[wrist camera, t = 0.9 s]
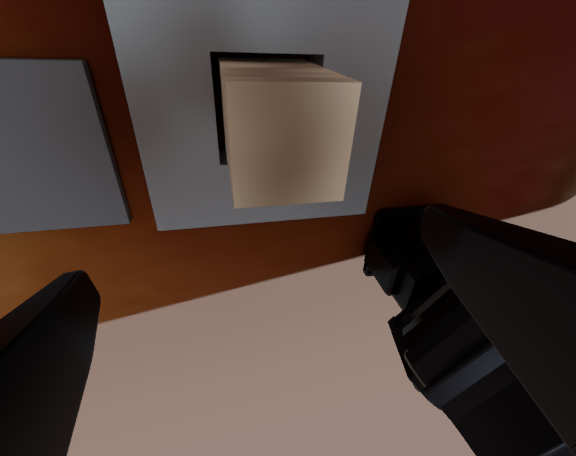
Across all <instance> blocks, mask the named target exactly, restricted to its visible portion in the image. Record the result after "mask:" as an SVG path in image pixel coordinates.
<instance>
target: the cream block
mask: <svg viewBox="0 0 576 456" xmlns="http://www.w3.org/2000/svg"><path fill="white" fill-rule="evenodd" d="M218 60H219V73H220V86H221V99H222V112H223V126H224V139H225V147H226V154H227V162H228V169H229V176H230V183H231V190H232V197H233V204H234V209H237V208H251V207H265V206H278V205H292V204H306V203H320V202H333V201H343V200H344V193H345V187H346V181H347V174H348V168H349V162H350V155H351V149H352V143H353V136H354V130H355V124H356V117H357V111H358V105H359V99H360V92H361V86H362V82H359V81H357V80H354V79H352V78H349V77H347V76H344V75H342V74H339V73H337V72H334V71H332V70H329V69H327V68H324V67H322V66H319V65H316V64H314V63H311V62H309V61H306V60H304V59H289V58H248V57H218Z"/></svg>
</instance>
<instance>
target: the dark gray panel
mask: <svg viewBox="0 0 576 456" xmlns="http://www.w3.org/2000/svg"><path fill="white" fill-rule="evenodd" d="M131 219H132V218H131V215H130V211H129V208H128V204H127V201H126V197H125V194H124V190H123V187H122V183H121V180H120V177H119V173H118V170H117V166H116V163H115V159H114V156H113V152H112V149H111V145H110V142H109V138H108V135H107V131H106V128H105V124H104V121H103V117H102V114H101V110H100V107H99V104H98V100H97V97H96V93H95V90H94V86H93V83H92V79H91V76H90V72H89V69H88V65H87V62H86V60H83V59H35V58H0V234H3V233H16V232H29V231H42V230H55V229H68V228H80V227H93V226H106V225H119V224H130V222H131Z"/></svg>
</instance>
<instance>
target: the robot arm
mask: <svg viewBox="0 0 576 456" xmlns="http://www.w3.org/2000/svg"><path fill="white" fill-rule="evenodd" d="M383 215H384V217H382V216H383ZM381 217H382V218H381ZM364 261H365V263H364V268H363V272H364V273H365V275H366V276H374V277H375V278H376V280H377V281H378V283H379V284H380V286H381V287H382V289H383V290H384V292H385V293H386V294H387V295H388V296H391V295H392V296H393V297H394V299H395V300H396V302H397V303H398V305H399V306H400V308H401V309H402V311H401V312H400V313H399V314H398V315H396V316H395V317H392V318H391V319H390V320H389V321H388V324H389V326H390V329H391V333H392V335H393V338H394V341H395V344H396V346H397V349H398V352H399V355H400V357H401V360H402V363H403V365H404V368H405V371H406V373H407V376H408V378H409V380H410V381H411V382H412V383H413V385H414V387H415V389H416V390H417V391H419V392H421V393H422V394H423V395H424V396H425V397H426V399H427V400H428V401H430V402H431V403H432V404H433V405H434V406H436V407H437V408H438V409H440V410H442V411H443V412H444V413H445V414H446V415H447V417H448V418H449V419H450V420H451V421H452V422H453V424H454V425H455V427H456V428H457V429H458V431H459V432H460V433H461V435H462V436H463V437H464V439H465V441H466V442H467V443H468V445H469V446H470V448H471V449H472V451H473V452H474V453H475V455H476V456H576V242H573V241H569V240H566V239H562V238H558V237H555V236H552V235H548V234H545V233H542V232H538V231H535V230H531V229H528V228H524V227H521V226H517V225H514V224H510V223H507V222H503V221H500V220H496V219H493V218H490V217H486V216H483V215H479V214H476V213H472V212H469V211H465V210H462V209H458V208H455V207H451V206H448V205H444V204H436V205H431V206H421V207H408V208H396V209H384V210H380V211H378V212H377V213H376V216H375V220H374V224H373V229H372V233H371V236H370V238H369V241H368V246H367V250H366V254H365V259H364ZM100 303H101V299H100V295H99V292H98V291H97V289H96V287H95V286H94V284H93V282H92V281H91V279H90V278H89V276H88V274H87V273H86V272H85V271H82V270H78V271H73V272H67V273H64V274H62V275H60V276H59V277H58V278H56V279H55V280H54V281H52V282H51V283H49V284H48V285H47V286H45V287H44V288H43V289H41V290H40V291H38V292H37V293H36V294H34V295H33V296H32V297H30V298H29V299H27V300H26V301H25V302H23V303H22V304H21V305H19V306H18V307H16V308H15V309H14V310H12V311H11V312H10V313H8V314H7V315H5V316H4V317H3V318H1V319H0V456H67V452H68V448H69V444H70V441H71V438H72V434H73V430H74V426H75V422H76V419H77V415H78V411H79V408H80V404H81V400H82V396H83V393H84V389H85V385H86V381H87V378H88V374H89V370H90V366H91V362H92V357H93V351H94V345H95V338H96V331H97V324H98V317H99V310H100Z"/></svg>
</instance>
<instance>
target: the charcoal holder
mask: <svg viewBox="0 0 576 456" xmlns="http://www.w3.org/2000/svg"><path fill="white" fill-rule="evenodd" d="M103 2H104V6H105V10H106V14H107V19H108V23H109V27H110V31H111V35H112V40H113V44H114V48H115V52H116V56H117V61H118V65H119V69H120V73H121V77H122V82H123V86H124V90H125V94H126V99H127V103H128V107H129V111H130V115H131V120H132V124H133V128H134V132H135V136H136V141H137V145H138V149H139V153H140V157H141V162H142V166H143V170H144V174H145V178H146V183H147V187H148V191H149V195H150V199H151V204H152V208H153V212H154V216H155V221H156V225H157V229H158V231H164V230H176V229H188V228H200V227H212V226H224V225H236V224H248V223H260V222H272V221H283V220H295V219H307V218H319V217H331V216H343V215H355V214H365V211H366V207H367V202H368V197H369V192H370V187H371V182H372V178H373V173H374V168H375V163H376V158H377V154H378V149H379V144H380V139H381V134H382V129H383V125H384V120H385V115H386V110H387V105H388V101H389V96H390V91H391V86H392V81H393V76H394V72H395V67H396V62H397V57H398V52H399V48H400V43H401V38H402V33H403V28H404V23H405V19H406V14H407V9H408V4H409V0H103ZM210 52H245V53H281V54H310V58H309V62H311V63H314V64H316V65H319V66H322V67H324V68H327V69H329V70H332V71H334V72H337V73H339V74H342V75H344V76H347V77H349V78H352V79H354V80H357V81H359V82H362V86H361V92H360V99H359V105H358V111H357V117H356V124H355V130H354V136H353V143H352V149H351V155H350V162H349V168H348V174H347V181H346V187H345V193H344V200H343V201H333V202H320V203H306V204H292V205H278V206H265V207H251V208H237V209H234V204H233V197H232V190H231V183H230V176H229V169H228V162H227V154H226V149H219V148H218V137H217V126H216V115H215V104H214V92H213V81H212V70H211V59H210Z"/></svg>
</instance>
